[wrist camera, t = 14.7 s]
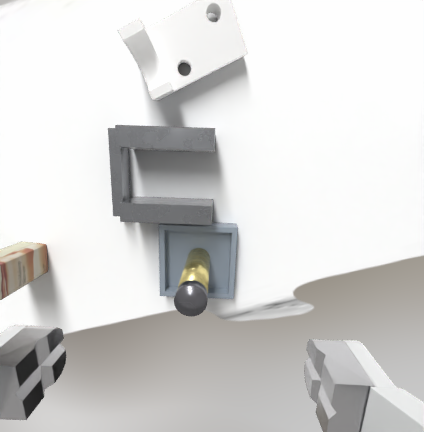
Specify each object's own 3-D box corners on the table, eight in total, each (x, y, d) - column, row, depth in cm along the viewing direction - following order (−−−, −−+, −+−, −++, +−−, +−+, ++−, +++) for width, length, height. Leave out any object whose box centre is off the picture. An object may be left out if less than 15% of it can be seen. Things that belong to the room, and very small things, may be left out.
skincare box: (49, 271, 39) (-7, 307, 29) (23, 269, 39) (-42, 304, 29) (47, 242, 38) (-12, 269, 28) (20, 239, 38) (-48, 266, 28)
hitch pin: (210, 248, 37) (207, 287, 25) (209, 269, 38) (206, 316, 26) (187, 247, 37) (174, 285, 25) (187, 268, 38) (174, 315, 26)
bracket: (159, 100, 34) (152, 100, 27) (132, 45, 31) (117, 30, 24) (242, 57, 33) (255, 46, 26) (222, -4, 30) (232, -35, 23)
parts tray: (236, 223, 37) (237, 227, 34) (232, 290, 39) (233, 298, 37) (162, 220, 37) (158, 224, 34) (163, 287, 39) (160, 295, 37)
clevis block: (215, 134, 34) (214, 128, 28) (212, 215, 37) (211, 225, 31) (117, 131, 34) (96, 124, 28) (121, 211, 37) (103, 221, 31)
